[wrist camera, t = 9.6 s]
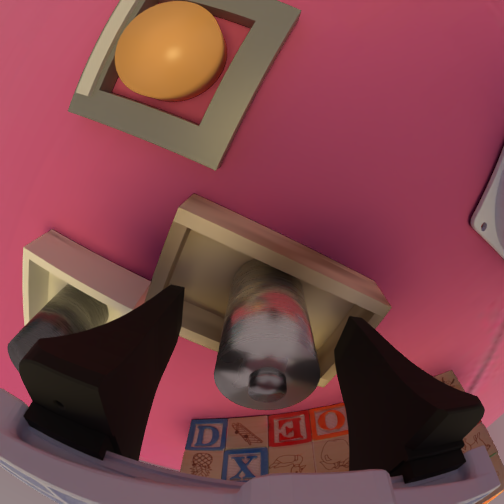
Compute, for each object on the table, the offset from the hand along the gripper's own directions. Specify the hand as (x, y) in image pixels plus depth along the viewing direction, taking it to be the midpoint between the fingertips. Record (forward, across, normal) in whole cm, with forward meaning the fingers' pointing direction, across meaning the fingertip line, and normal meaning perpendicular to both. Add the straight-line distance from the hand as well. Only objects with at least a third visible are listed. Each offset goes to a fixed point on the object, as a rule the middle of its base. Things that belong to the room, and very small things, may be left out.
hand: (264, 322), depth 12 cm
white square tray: (+3, +10, +4) cm, 11 cm away
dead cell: (+2, +10, +4) cm, 11 cm away
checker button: (+3, +6, -10) cm, 12 cm away
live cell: (+2, 0, 0) cm, 2 cm away
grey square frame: (+3, +6, -10) cm, 12 cm away
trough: (+3, 0, 0) cm, 3 cm away
